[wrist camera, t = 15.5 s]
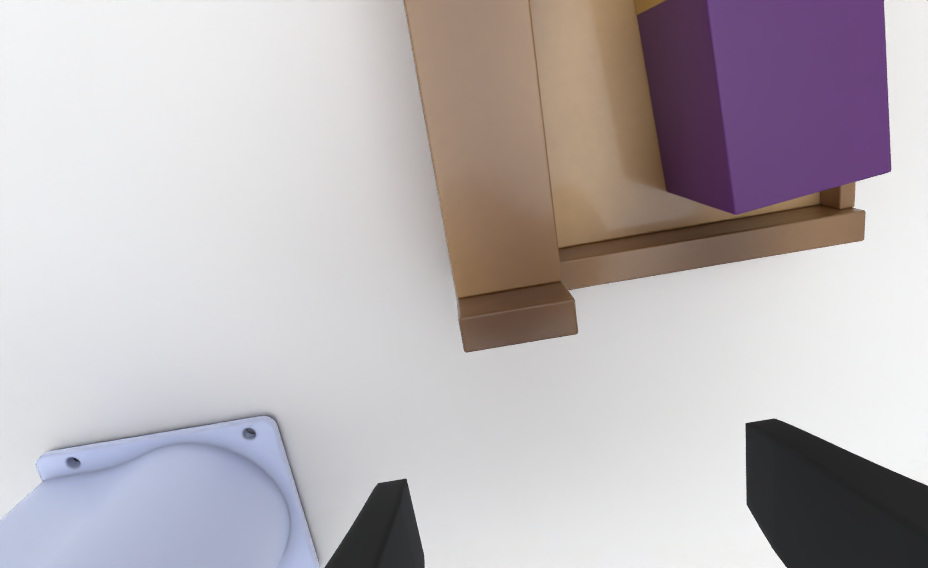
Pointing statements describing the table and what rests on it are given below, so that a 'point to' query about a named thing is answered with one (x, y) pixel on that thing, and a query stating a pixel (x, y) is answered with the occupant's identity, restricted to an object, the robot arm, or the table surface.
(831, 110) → the chocolate bar
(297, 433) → the table surface
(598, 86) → the tray
